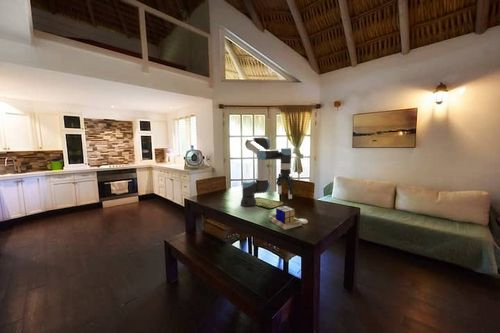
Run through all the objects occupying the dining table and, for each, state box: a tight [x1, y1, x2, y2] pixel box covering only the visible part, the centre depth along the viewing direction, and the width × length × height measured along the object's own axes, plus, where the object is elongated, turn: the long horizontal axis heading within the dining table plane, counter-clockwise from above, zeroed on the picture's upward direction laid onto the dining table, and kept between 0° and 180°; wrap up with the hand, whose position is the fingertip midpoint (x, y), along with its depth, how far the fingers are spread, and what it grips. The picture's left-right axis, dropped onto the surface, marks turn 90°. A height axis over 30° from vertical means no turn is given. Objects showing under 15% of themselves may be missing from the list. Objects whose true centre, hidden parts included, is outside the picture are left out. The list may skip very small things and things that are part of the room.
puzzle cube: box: [275, 205, 295, 224], centre depth 158 cm, size 10×10×10 cm
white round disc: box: [298, 218, 309, 225], centre depth 160 cm, size 8×8×1 cm
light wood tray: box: [268, 213, 303, 230], centre depth 158 cm, size 20×15×3 cm
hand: (284, 196), depth 159 cm, fingers open, 13 cm apart
